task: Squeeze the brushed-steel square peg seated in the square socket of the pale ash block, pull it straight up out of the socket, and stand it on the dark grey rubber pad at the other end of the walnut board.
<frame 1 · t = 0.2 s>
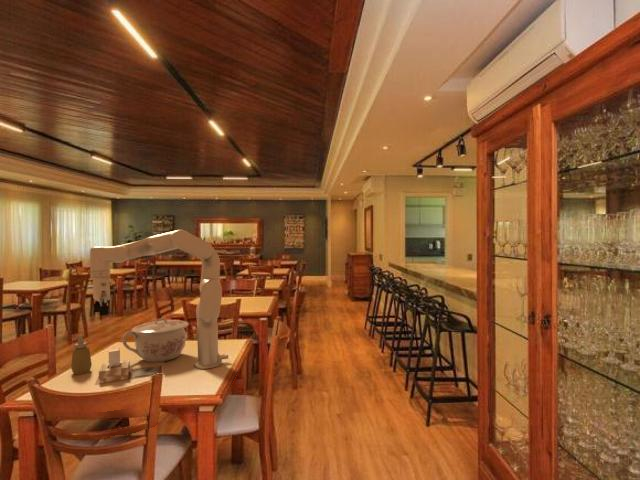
hand: (101, 313, 166), 30 cm above the table, tool pointing down, fingers open, 9 cm apart
steel peg: (115, 376, 168), point 1 cm above the table, touching socket board
socket board: (130, 376, 170), on the table
chamber pot: (161, 358, 196), on the table
squeeze bottle: (81, 374, 175), on the table
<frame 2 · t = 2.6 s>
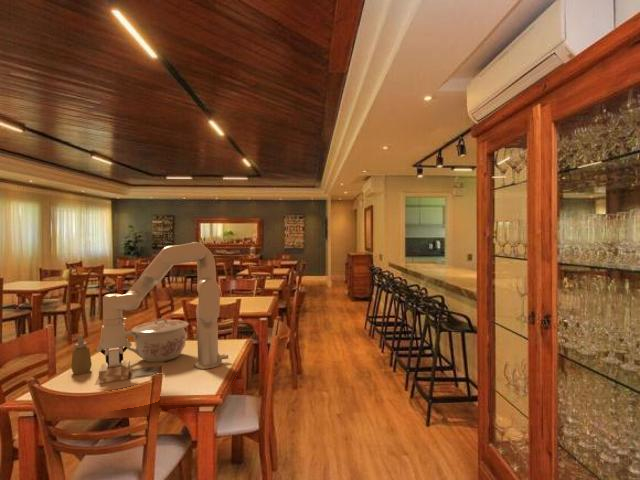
hand: (114, 362, 168), 7 cm above the table, tool pointing down, fingers closed on steel peg, 4 cm apart
steel peg: (115, 376, 168), point 1 cm above the table, touching gripper, socket board
everything else where it was.
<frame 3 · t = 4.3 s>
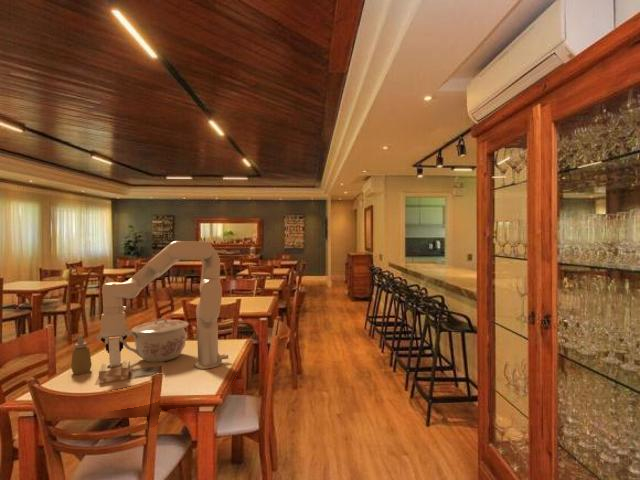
hand: (114, 351, 168), 12 cm above the table, tool pointing down, fingers closed on steel peg, 4 cm apart
steel peg: (115, 365, 168), point 6 cm above the table, touching gripper
everything else where it was.
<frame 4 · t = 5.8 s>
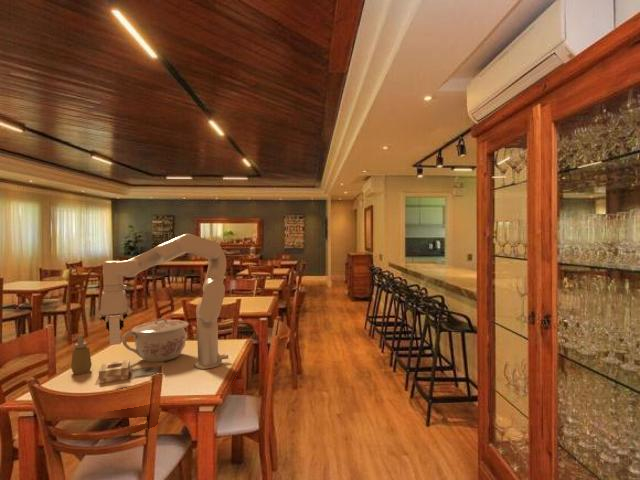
hand: (115, 329, 168), 22 cm above the table, tool pointing down, fingers closed on steel peg, 4 cm apart
steel peg: (115, 343, 168), point 16 cm above the table, touching gripper
everything else where it was.
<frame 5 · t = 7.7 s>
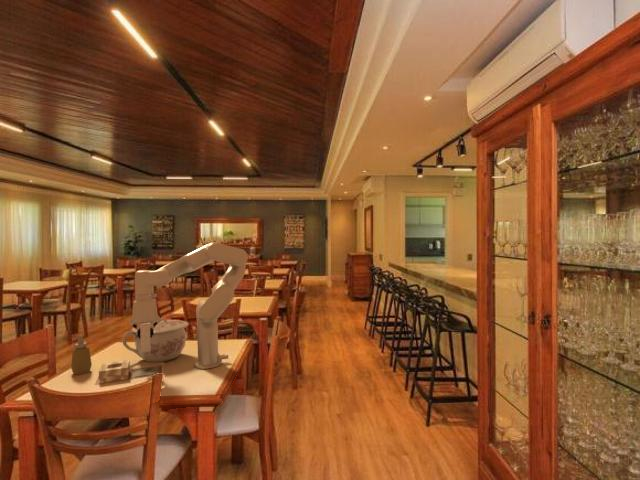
hand: (145, 337, 173), 17 cm above the table, tool pointing down, fingers closed on steel peg, 4 cm apart
steel peg: (145, 350, 173), point 11 cm above the table, touching gripper
everything else where it was.
when the fingers open (10 cm above the table, at t = 9.3 s): steel peg drops 2 cm, resting on socket board.
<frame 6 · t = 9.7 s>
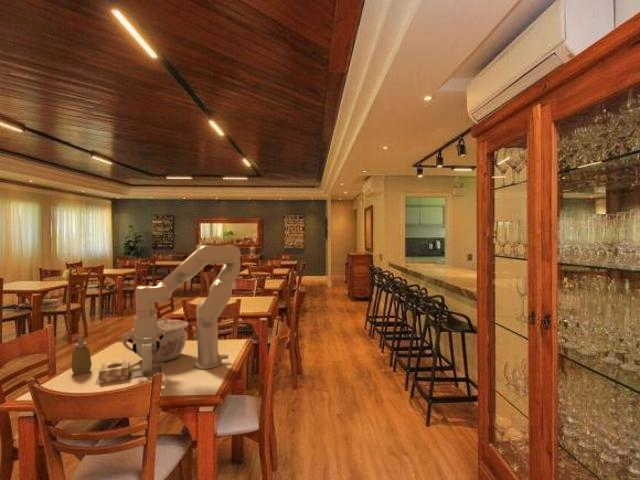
hand: (146, 350, 173), 11 cm above the table, tool pointing down, fingers open, 8 cm apart
steel peg: (147, 371, 173), point 1 cm above the table, touching socket board
everything else where it was.
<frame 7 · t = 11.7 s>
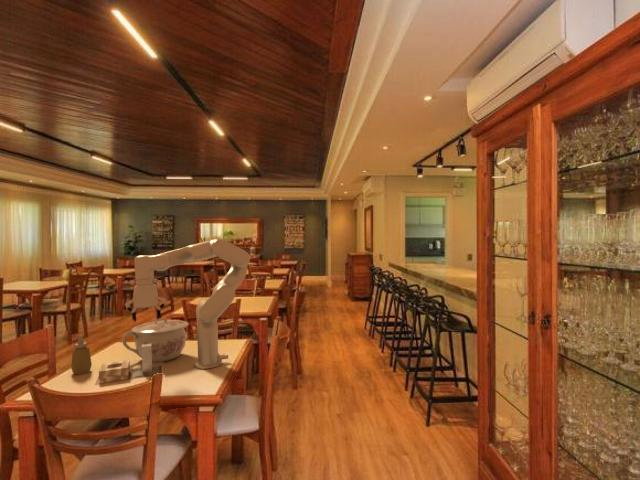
hand: (146, 319, 173), 25 cm above the table, tool pointing down, fingers open, 9 cm apart
nothing on the table moved.
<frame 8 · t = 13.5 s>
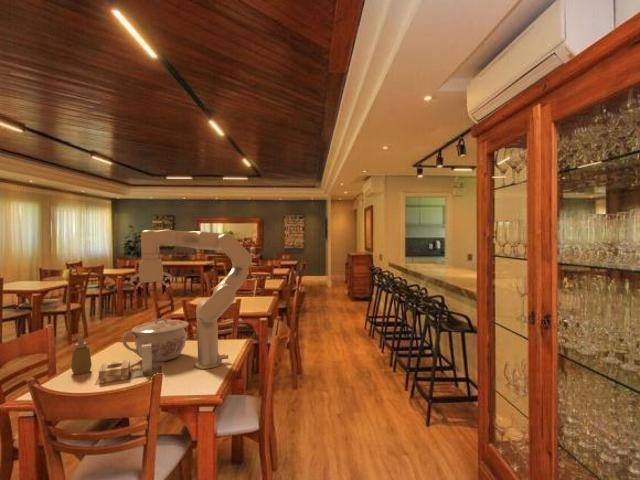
hand: (151, 294, 174), 36 cm above the table, tool pointing down, fingers open, 9 cm apart
nothing on the table moved.
at the end: steel peg inside the target area (0.1 cm from its centre), point 1.3 cm above the table; steel peg tilted 0°; the gripper is holding nothing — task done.
